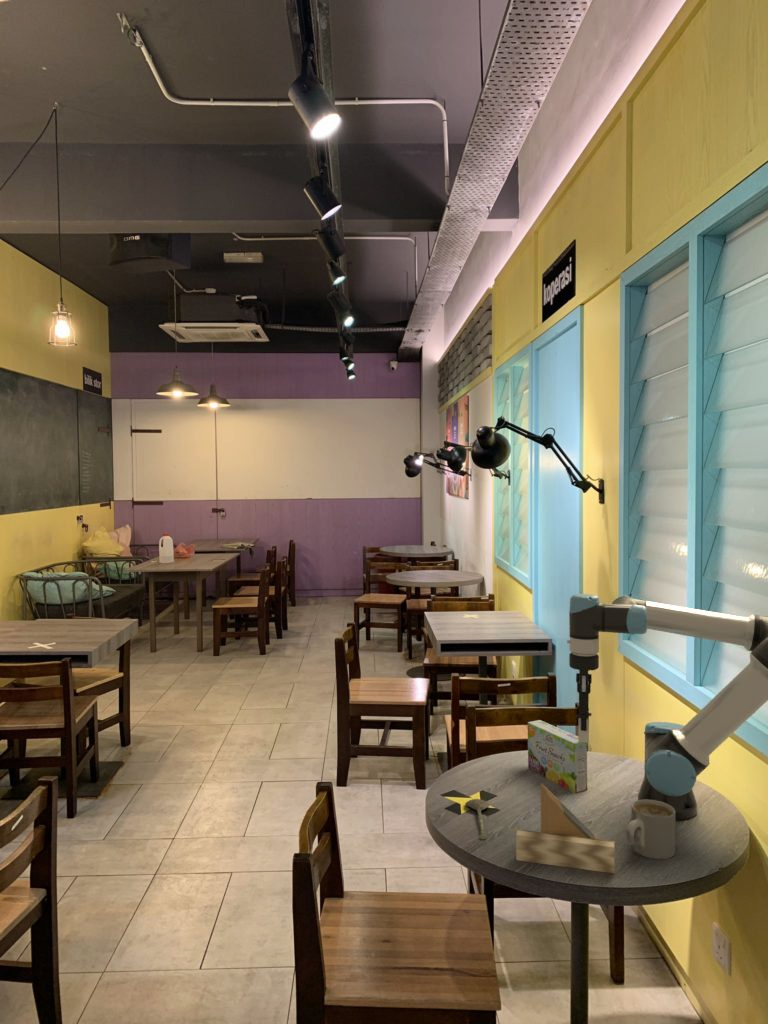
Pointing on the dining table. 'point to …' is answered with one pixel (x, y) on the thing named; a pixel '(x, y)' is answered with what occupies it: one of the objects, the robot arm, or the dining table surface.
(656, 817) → the coffee mug
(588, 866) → the birch board
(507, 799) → the dining table surface
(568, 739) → the snack box
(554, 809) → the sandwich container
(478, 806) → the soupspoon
